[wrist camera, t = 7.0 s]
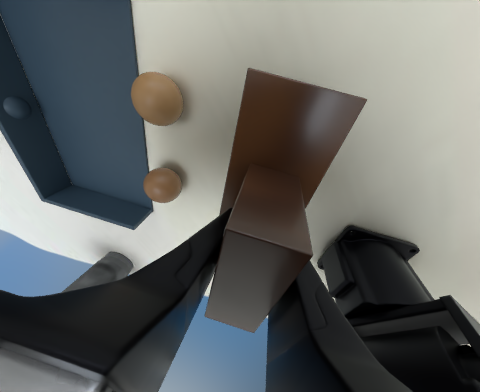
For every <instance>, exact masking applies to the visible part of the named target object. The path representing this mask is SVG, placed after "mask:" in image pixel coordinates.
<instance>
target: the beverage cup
mask: <svg viewBox="0 0 480 392" xmlns="http://www.w3.org/2000/svg"><path fill="white" fill-rule="evenodd" d="M132 268H133V264H132V262H131V261H130V260H129V259H128V258H126V257H125V256H123V255H121V254H119V253H115V252H110V253H108V254H107V255H106V256H105V257H103V258H102V259H101V260H99V261H98V262H97V263H96V264H94V265H93V266H92V267H91V268H90V269H89V270H88V271H86V272H85V273H84V274H83V275H81V276H80V277H79V278H78V279H77V280H76V281H74V282H73V283H72V284H71V285H70V286H69V287H67V288H66V289H65V290H64V291H63V292H67V291H71V290H76V289H81V288H85V287H90V286H95V285H100V284H104V283H109V282H113V281H117V280H120V279H122V278H125V277H127V276H128V274H129V272H130V271H131V269H132ZM61 293H62V292H61Z"/></svg>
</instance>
